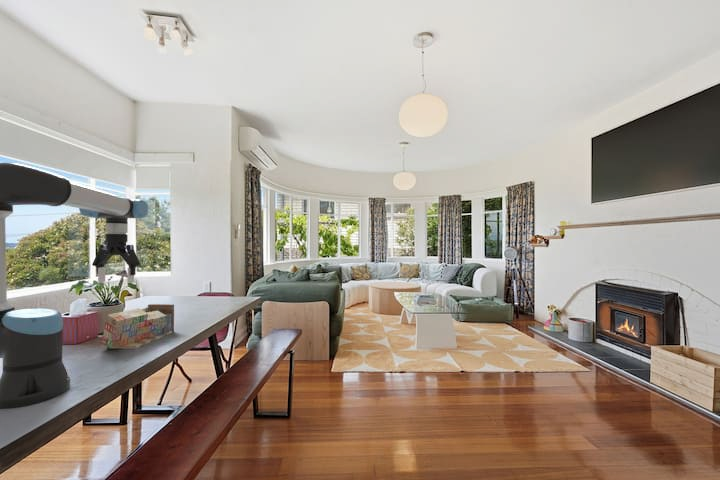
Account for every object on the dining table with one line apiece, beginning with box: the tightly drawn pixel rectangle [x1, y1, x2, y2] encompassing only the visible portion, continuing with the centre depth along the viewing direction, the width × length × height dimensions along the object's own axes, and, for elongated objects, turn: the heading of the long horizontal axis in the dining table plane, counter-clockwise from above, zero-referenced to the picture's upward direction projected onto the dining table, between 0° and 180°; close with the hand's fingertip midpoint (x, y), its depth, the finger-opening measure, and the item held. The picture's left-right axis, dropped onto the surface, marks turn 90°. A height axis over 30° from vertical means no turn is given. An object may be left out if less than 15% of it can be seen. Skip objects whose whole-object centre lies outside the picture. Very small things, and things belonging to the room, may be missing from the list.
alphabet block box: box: [106, 303, 175, 350], centre depth 139 cm, size 24×12×13 cm, turn 177°
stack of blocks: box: [101, 307, 166, 350], centre depth 133 cm, size 21×6×12 cm, turn 159°
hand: (116, 282), depth 136 cm, fingers open, 13 cm apart
